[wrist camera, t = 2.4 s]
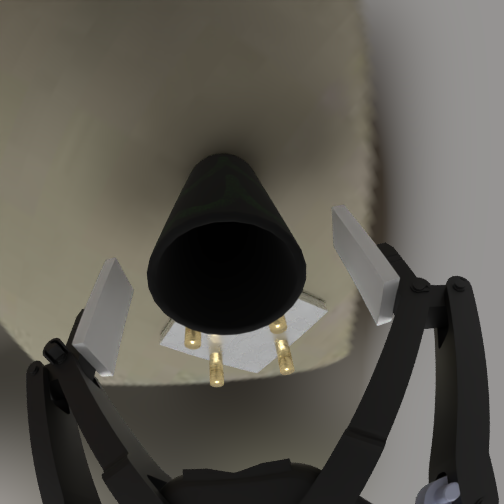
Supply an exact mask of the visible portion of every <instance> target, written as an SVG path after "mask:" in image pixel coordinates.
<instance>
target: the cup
mask: <svg viewBox="0 0 504 504" xmlns="http://www.w3.org/2000/svg"><path fill="white" fill-rule="evenodd" d="M147 279H148V287H149V290H150V292H151V295H152V297H153V299H154V301H155V303H156V304H157V305H158V306H159V307H160V309H161V310H162V311H163V312H164V313H165V314H166V315H167V316H169V317H170V318H171V319H173V320H174V321H175V322H177V323H178V324H181V325H183V326H185V327H187V328H189V329H191V330H194V331H198V332H202V333H205V334H213V335H237V334H243V333H247V332H252V331H255V330H258V329H260V328H263V327H265V326H268V325H270V324H271V323H273V322H274V321H276V320H278V319H279V318H281V317H282V316H283V315H284V314H285V313H286V312H287V311H288V310H289V309H291V308H292V307H293V306H294V304H295V303H296V301H297V300H298V298H299V296H300V295H301V293H302V290H303V287H304V284H305V281H306V263H305V260H304V257H303V253H302V250H301V249H300V247H299V245H298V244H297V242H296V240H295V238H294V237H293V235H292V233H291V232H290V230H289V228H288V227H287V225H286V223H285V222H284V220H283V218H282V217H281V215H280V213H279V212H278V210H277V209H276V207H275V205H274V204H273V202H272V200H271V199H270V197H269V196H268V194H267V192H266V191H265V189H264V188H263V186H262V184H261V183H260V181H259V180H258V178H257V176H256V175H255V173H254V172H253V170H252V169H251V167H250V166H249V165H248V164H247V163H246V162H245V161H244V160H242V159H241V158H239V157H236V156H234V155H230V154H216V155H212V156H209V157H207V158H205V159H203V160H202V161H200V162H199V163H198V164H197V165H196V166H195V168H194V169H193V171H192V172H191V174H190V176H189V178H188V180H187V182H186V184H185V186H184V188H183V189H182V191H181V193H180V195H179V197H178V199H177V201H176V203H175V205H174V207H173V209H172V211H171V214H170V216H169V218H168V220H167V222H166V224H165V226H164V228H163V230H162V232H161V235H160V237H159V239H158V241H157V243H156V246H155V248H154V250H153V252H152V254H151V257H150V260H149V265H148V270H147Z"/></svg>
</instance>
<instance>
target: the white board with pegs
mask: <svg viewBox="0 0 504 504" xmlns="http://www.w3.org/2000/svg"><path fill="white" fill-rule="evenodd" d="M327 312H328V310H327V308H326V305H325V303H324V302H323V301H321V300H319V299H317V298H314V297H312V296H310V295H308V294H305V293H303V292H302V293H301V295H300V296H299V298H298V300H297V301H296V303H295V304H294V306H293V307H292V308H291V309H289V310H288V311H287V312H286V313H285V314H284V315H283V316H282V317H281V318H279V319H278V320H276V321H274V322H273V323H271V324H270V325H268V326H265V327H263V328H260V329H258V330H255V331H252V332H247V333H243V334H237V335H213V334H205V333H202V332H198V331H194V330H191V329H189V328H187V327H185V326H183V325H181V324H178V323H177V322H175V321H174V320H173V319H171V320H170V322H169V323H168V325H167V326H166V328H165V329H164V331H163V332H162V334H161V337H160V345H163V346H166V347H169V348H171V349H174V350H178V351H181V352H184V353H187V354H190V355H193V356H196V357H200V358H203V359H206V360H210V385H211V386H213V387H221V386H223V385H224V376H223V364H224V365H228V366H231V367H235V368H239V369H243V370H247V371H251V372H255V373H258V372H259V371H260V370H261V369H263V368H264V367H265V366H266V365H267V364H269V363H270V362H271V361H272V360H273V359H275V358H276V357H278V362H279V367H280V372H281V374H283V375H288V374H291V373H293V372H294V365H293V361H292V357H291V353H290V348H289V346H290V345H291V344H292V343H293V342H295V341H296V340H297V339H298V338H299V337H300V336H301V335H302V334H304V333H305V332H306V331H307V330H308V329H309V328H310V327H311V326H312V325H314V324H315V323H316V322H317V321H318V320H319V319H320V318H321V317H322V316H323V315H324V314H325V313H327Z"/></svg>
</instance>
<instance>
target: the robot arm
mask: <svg viewBox="0 0 504 504" xmlns="http://www.w3.org/2000/svg"><path fill="white" fill-rule="evenodd" d="M332 222H333V243H334V248H335V249H336V251H337V253H338V255H339V256H340V258H341V260H342V261H343V263H344V265H345V267H346V269H347V270H348V272H349V274H350V276H351V278H352V279H353V281H354V283H355V285H356V287H357V288H358V290H359V292H360V294H361V296H362V298H363V300H364V302H365V303H366V305H367V307H368V309H369V311H370V313H371V314H372V317H373V319H374V321H375V323H376V325H377V326H378V325H381V324H384V323H387V322H390V321H391V320H392V315H393V313H394V315H395V317H394V320H393V323H392V326H391V329H390V332H389V334H388V337H387V340H386V343H385V345H384V348H383V350H382V353H381V355H380V358H379V360H378V363H377V365H376V368H375V370H374V373H373V375H372V377H371V380H370V382H369V384H368V386H367V389H366V391H365V393H364V395H363V397H362V400H361V402H360V404H359V406H358V408H357V410H356V412H355V414H354V416H353V418H352V420H351V423H350V424H349V426H348V428H347V429H346V430H345V432H344V433H343V435H342V437H341V439H340V440H339V442H338V444H337V445H336V447H335V449H334V451H333V452H332V454H331V456H330V458H329V459H328V461H327V463H326V464H325V466H324V468H323V469H322V470H320V469H318V468H316V467H313V466H311V465H306V464H302V463H291V462H290V459H284V460H278V461H272V462H266V463H261V464H259V465H256V466H253V467H250V468H248V469H245V470H242V471H239V472H236V473H231V472H224V471H218V470H212V469H184V470H183V475H181V476H178V477H176V478H174V479H172V478H171V477H170V476H169V475H167V474H166V473H165V472H164V471H163V470H162V469H161V468H160V467H159V466H158V465H157V464H156V462H155V461H154V460H153V459H152V457H150V455H149V454H148V453H147V451H146V450H145V449H144V447H143V446H142V445H141V443H140V442H139V441H138V440H137V438H136V437H135V435H134V434H133V433H132V431H131V430H130V429H129V427H128V426H127V424H126V423H125V421H124V420H123V419H122V417H121V416H120V414H119V413H118V411H117V410H116V408H115V407H114V405H113V404H112V402H111V401H110V399H109V397H108V396H107V394H106V393H105V391H104V389H103V388H102V386H101V384H100V382H99V381H98V379H97V378H96V377H95V376H94V375H95V371H97V372H98V373H99V374H100V375H101V376H113V375H114V370H115V365H116V360H117V355H118V351H119V347H120V342H121V338H122V334H123V330H124V326H125V322H126V318H127V314H128V310H129V306H130V303H131V299H132V295H133V292H134V290H133V288H132V286H131V284H130V283H129V281H128V279H127V277H126V275H125V274H124V272H123V270H122V268H121V266H120V264H119V262H118V261H117V259H116V257H115V258H111V259H108V260H106V261H105V263H104V265H103V267H102V269H101V271H100V274H99V276H98V278H97V281H96V283H95V285H94V288H93V290H92V292H91V295H90V297H89V300H88V302H87V304H86V307H85V309H82V310H81V312H80V313H79V314H78V316H77V317H76V320H75V323H74V325H73V328H72V331H71V333H70V336H69V339H68V341H67V344H66V346H65V344H64V343H63V342H62V341H61V340H60V339H59V338H54V339H52V340H50V341H49V342H48V343H47V344H46V346H45V347H44V350H43V356H44V357H45V358H46V359H47V360H48V361H49V362H50V364H47V365H45V366H44V365H43V364H42V363H41V362H40V361H34V362H33V363H32V364H31V365H30V366H29V368H28V370H27V373H26V388H27V410H28V423H29V433H30V440H31V448H32V455H33V460H34V466H35V471H36V476H37V481H38V485H39V490H40V494H41V498H42V502H43V504H101V501H100V499H99V496H98V493H97V490H96V488H95V485H94V482H93V479H92V476H91V473H90V470H89V467H88V464H87V460H86V457H85V453H84V450H83V446H82V442H81V438H80V434H79V430H78V425H79V427H80V429H81V431H82V433H83V435H84V437H85V439H86V441H87V443H88V444H89V446H90V448H91V450H92V451H93V453H94V455H95V457H96V458H97V460H98V461H99V464H100V465H101V467H102V468H103V470H104V473H103V474H102V479H103V480H104V482H105V484H106V485H107V487H108V488H109V490H110V491H111V493H112V494H113V496H114V497H115V499H116V500H117V501H118V503H119V504H372V503H370V502H368V501H367V500H365V499H364V498H362V497H361V496H359V495H360V493H361V492H362V490H363V488H364V487H365V485H366V483H367V481H368V479H369V477H370V475H371V474H372V471H373V470H374V468H375V466H376V464H377V462H378V460H379V458H380V456H381V453H382V451H383V449H384V446H385V444H386V440H387V437H388V435H389V432H390V430H391V428H392V425H393V423H394V420H395V418H396V415H397V413H398V410H399V408H400V405H401V402H402V400H403V397H404V394H405V391H406V388H407V386H408V382H409V379H410V376H411V373H412V370H413V367H414V364H415V360H416V357H417V353H418V350H419V346H420V342H421V339H422V335H423V331H424V329H429V328H434V335H435V357H436V392H435V393H436V395H435V414H434V428H433V438H432V447H431V456H430V463H429V484H427V485H426V486H424V487H423V488H422V489H421V490H420V491H419V493H418V495H417V497H416V503H415V504H498V503H499V498H498V492H497V486H496V482H495V477H494V472H493V468H492V464H491V459H490V456H489V433H490V421H489V420H490V415H489V414H490V413H489V392H488V391H489V390H488V378H487V368H486V359H485V351H484V345H483V338H482V332H481V327H480V322H479V316H478V312H477V307H476V303H475V298H474V294H473V290H472V286H471V285H470V282H469V281H467V279H465V278H463V277H460V276H452V277H451V278H449V279H448V281H447V283H446V285H430V283H429V282H428V281H426V280H425V279H422V278H417V277H416V276H415V274H414V273H413V272H412V270H411V269H410V268H409V267H408V265H407V264H406V263H405V261H404V260H403V259H402V257H400V255H399V254H398V252H397V251H396V250H395V249H394V247H392V246H390V245H389V244H387V243H382V244H378V245H376V244H375V243H374V242H373V241H372V239H371V238H370V237H369V235H368V234H367V233H366V231H365V230H364V229H363V228H362V226H361V225H360V224H359V223H358V221H357V220H356V219H355V218H354V216H353V215H352V214H351V213H350V211H349V210H348V209H347V208H346V207H345V205H339V206H334V207H332ZM77 423H78V425H77Z"/></svg>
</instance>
